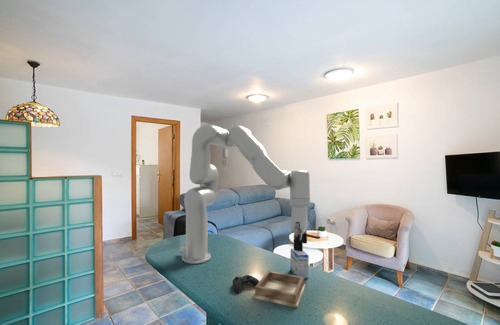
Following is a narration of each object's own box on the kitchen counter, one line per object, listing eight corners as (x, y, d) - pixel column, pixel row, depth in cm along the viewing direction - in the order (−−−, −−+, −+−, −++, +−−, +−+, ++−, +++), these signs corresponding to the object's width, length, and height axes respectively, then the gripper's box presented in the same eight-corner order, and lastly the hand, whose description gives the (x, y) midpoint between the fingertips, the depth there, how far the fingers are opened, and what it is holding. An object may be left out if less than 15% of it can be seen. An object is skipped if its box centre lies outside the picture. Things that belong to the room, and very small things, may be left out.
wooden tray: (253, 297, 76) (253, 287, 76) (267, 278, 89) (267, 269, 89) (297, 308, 71) (297, 296, 71) (305, 286, 84) (305, 276, 84)
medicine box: (289, 270, 97) (290, 248, 97) (300, 269, 98) (300, 247, 98) (297, 279, 90) (297, 255, 90) (308, 278, 90) (308, 254, 90)
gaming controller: (236, 293, 78) (231, 274, 82) (231, 299, 81) (227, 281, 85) (262, 286, 82) (256, 269, 86) (257, 292, 86) (251, 275, 89)
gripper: (294, 199, 104) (295, 239, 103) (284, 205, 88) (285, 252, 87) (312, 199, 101) (313, 241, 100) (306, 206, 85) (306, 255, 84)
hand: (300, 246), depth 94 cm, fingers open, 9 cm apart
